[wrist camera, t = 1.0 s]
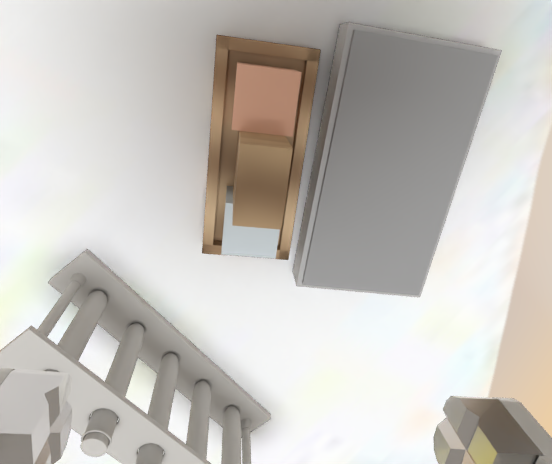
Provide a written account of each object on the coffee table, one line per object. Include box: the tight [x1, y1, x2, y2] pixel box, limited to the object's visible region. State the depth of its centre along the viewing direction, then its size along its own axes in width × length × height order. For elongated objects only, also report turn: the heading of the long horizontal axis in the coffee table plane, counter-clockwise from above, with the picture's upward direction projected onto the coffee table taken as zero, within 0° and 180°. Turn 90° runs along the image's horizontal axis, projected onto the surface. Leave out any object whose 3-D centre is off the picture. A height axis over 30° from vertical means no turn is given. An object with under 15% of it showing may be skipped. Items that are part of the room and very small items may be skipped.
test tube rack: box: [0, 249, 271, 464], centre depth 34 cm, size 25×4×13 cm, turn 37°
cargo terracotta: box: [232, 62, 302, 137], centre depth 29 cm, size 4×4×4 cm
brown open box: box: [202, 35, 321, 260], centre depth 29 cm, size 16×7×10 cm, turn 173°
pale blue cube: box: [221, 186, 280, 259], centre depth 32 cm, size 4×4×4 cm
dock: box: [293, 22, 502, 297], centre depth 33 cm, size 20×11×3 cm, turn 171°
